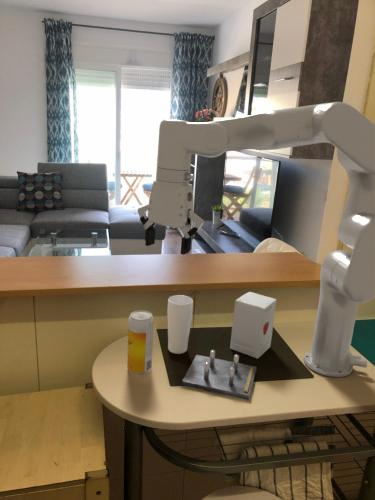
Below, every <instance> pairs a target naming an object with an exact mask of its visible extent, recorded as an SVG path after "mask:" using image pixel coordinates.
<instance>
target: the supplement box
mask: <svg viewBox="0 0 375 500" xmlns="http://www.w3.org/2000/svg"><path fill="white" fill-rule="evenodd" d="M276 306H277V298H273V297H270V296H267V295H266V296H265V295H262V294H259V293H257V292H256V293H255V292H253V291H248V292H247V293H244V294H243V295H241V296H240V297H238V298H237V299H235V300H234V307H233V308H234V309H233V310H234V311H233V318H232V325H231V327H232V328H231V337H230V344H229V345H230V346H229V349H231V350H234V351H235V352H239V353H241V354H244V355H247V356H249V357H252V358H255V359H257V360H258V359H259V358H260V357H262V356H263V355H264V354H265V353H266V352H267V351H268V349H270V348H271V345H272V338H273V337H272V336H273V330H274V329H273V328H274V323H275V315H276V314H275V313H276Z"/></svg>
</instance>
